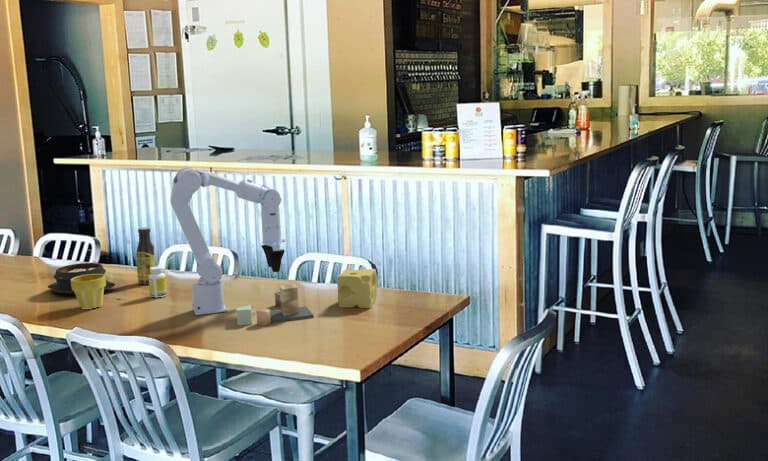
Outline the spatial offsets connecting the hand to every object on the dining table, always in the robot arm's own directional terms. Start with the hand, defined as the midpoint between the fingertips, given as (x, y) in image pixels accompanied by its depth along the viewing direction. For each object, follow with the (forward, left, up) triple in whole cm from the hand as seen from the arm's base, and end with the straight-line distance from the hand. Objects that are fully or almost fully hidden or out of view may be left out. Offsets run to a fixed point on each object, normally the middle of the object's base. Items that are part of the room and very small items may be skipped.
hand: (274, 269), depth 248 cm
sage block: (-13, -19, -10) cm, 25 cm away
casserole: (-60, +43, -11) cm, 75 cm away
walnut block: (+1, -6, -10) cm, 12 cm away
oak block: (+1, -18, -10) cm, 20 cm away
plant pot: (-56, +19, -11) cm, 60 cm away
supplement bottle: (-35, +23, -11) cm, 43 cm away
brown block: (-8, -23, -10) cm, 26 cm away
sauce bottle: (-38, +44, -11) cm, 59 cm away
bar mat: (+1, -18, -10) cm, 21 cm away
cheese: (+23, -14, -11) cm, 29 cm away
